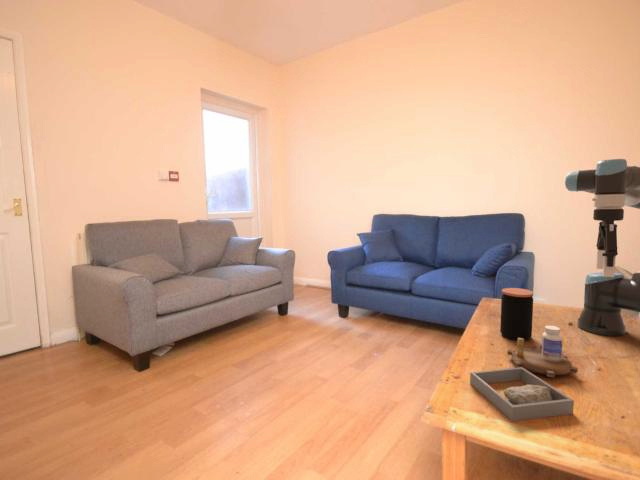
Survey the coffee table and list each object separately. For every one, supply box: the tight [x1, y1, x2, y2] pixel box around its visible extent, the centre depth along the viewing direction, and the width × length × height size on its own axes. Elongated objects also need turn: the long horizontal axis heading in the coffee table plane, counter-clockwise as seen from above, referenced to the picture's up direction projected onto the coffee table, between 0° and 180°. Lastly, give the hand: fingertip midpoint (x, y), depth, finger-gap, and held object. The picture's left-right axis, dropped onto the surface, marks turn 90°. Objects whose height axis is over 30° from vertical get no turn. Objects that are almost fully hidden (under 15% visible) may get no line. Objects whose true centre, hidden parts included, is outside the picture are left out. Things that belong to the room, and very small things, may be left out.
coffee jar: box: [499, 287, 534, 342], centre depth 133 cm, size 11×11×18 cm
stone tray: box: [469, 367, 575, 422], centre depth 92 cm, size 17×18×4 cm
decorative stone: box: [503, 384, 553, 405], centre depth 89 cm, size 12×11×5 cm
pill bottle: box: [541, 325, 564, 360], centre depth 109 cm, size 5×5×10 cm
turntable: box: [507, 338, 579, 378], centre depth 108 cm, size 19×17×7 cm
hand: (604, 272), depth 113 cm, fingers open, 13 cm apart
